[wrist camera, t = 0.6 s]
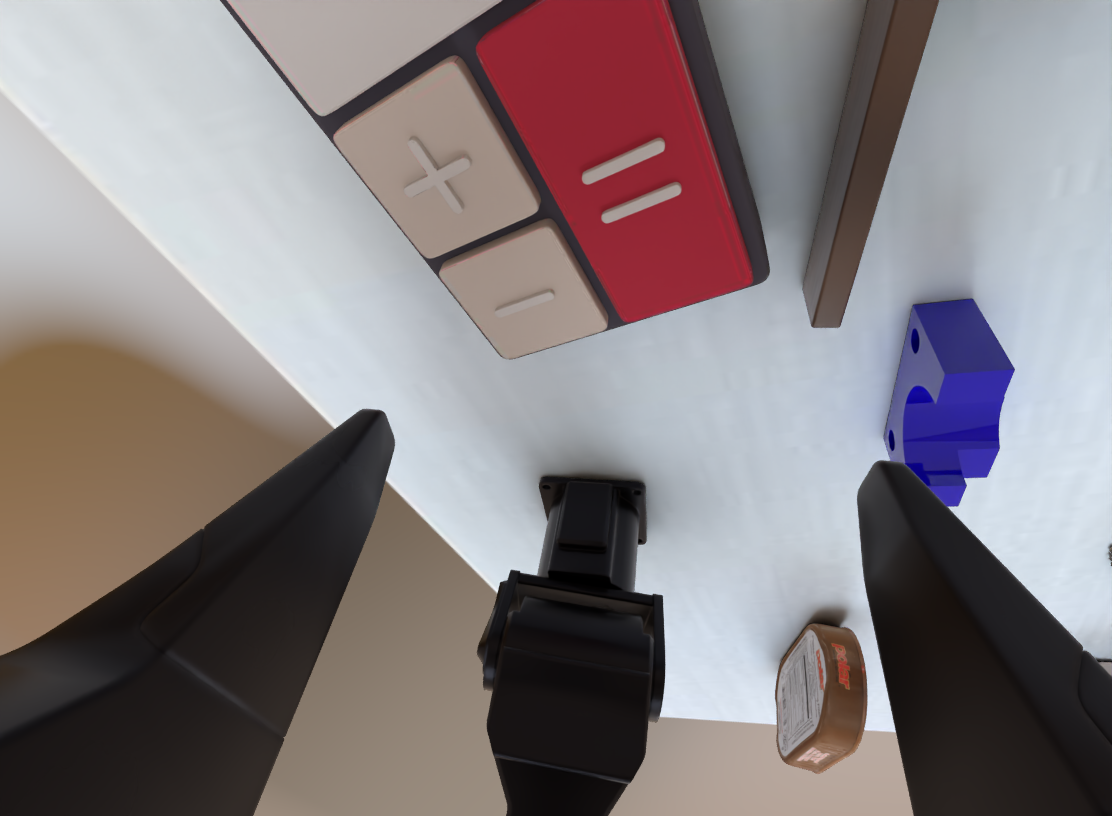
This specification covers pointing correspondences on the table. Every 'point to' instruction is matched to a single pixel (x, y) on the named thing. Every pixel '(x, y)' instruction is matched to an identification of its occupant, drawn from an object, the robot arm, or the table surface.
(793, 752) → the tin
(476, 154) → the calculator
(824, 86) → the table surface
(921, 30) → the square wooden border
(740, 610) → the table surface
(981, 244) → the table surface
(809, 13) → the table surface
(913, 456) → the cable holder
